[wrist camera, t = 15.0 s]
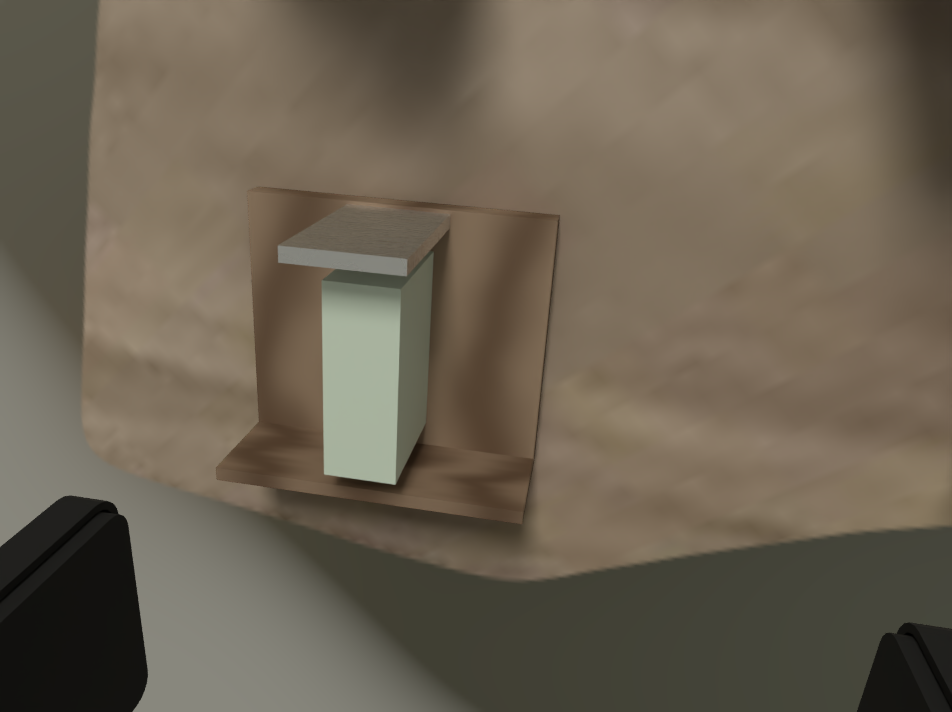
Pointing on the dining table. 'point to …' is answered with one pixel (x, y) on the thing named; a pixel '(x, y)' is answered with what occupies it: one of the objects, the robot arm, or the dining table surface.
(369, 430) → the book
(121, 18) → the dining table surface
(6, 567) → the robot arm
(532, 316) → the shelf
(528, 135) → the dining table surface
